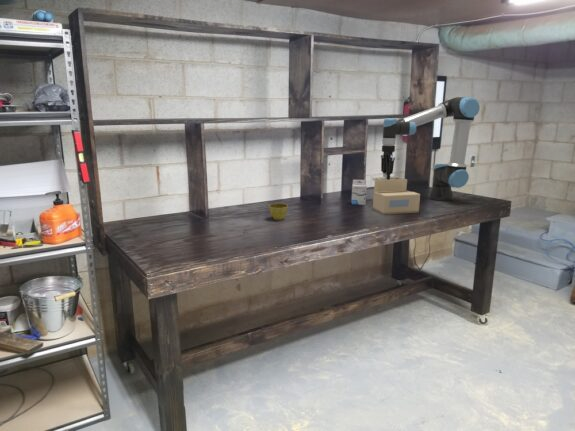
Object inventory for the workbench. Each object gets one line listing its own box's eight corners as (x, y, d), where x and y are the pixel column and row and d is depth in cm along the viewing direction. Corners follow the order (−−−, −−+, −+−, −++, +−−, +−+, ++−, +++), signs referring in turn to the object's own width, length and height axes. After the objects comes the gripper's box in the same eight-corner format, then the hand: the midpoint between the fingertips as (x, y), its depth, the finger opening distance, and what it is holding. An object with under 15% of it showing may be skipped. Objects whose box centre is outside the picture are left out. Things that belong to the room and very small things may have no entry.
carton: (406, 207, 266) (407, 189, 263) (418, 212, 253) (420, 194, 250) (372, 208, 260) (373, 191, 258) (383, 214, 247) (385, 195, 244)
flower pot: (268, 220, 231) (268, 207, 229) (269, 216, 240) (269, 203, 239) (287, 221, 231) (287, 207, 229) (287, 216, 240) (287, 203, 239)
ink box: (351, 204, 271) (352, 180, 267) (351, 202, 275) (352, 179, 272) (365, 205, 270) (367, 181, 266) (365, 203, 275) (366, 179, 271)
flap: (406, 190, 264) (400, 188, 270) (407, 178, 262) (401, 175, 268) (374, 191, 258) (369, 189, 265) (375, 179, 256) (369, 177, 263)
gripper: (376, 144, 267) (374, 182, 272) (389, 146, 252) (386, 186, 258) (388, 143, 268) (385, 181, 274) (400, 146, 254) (397, 186, 260)
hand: (385, 184), depth 266 cm, fingers open, 2 cm apart
